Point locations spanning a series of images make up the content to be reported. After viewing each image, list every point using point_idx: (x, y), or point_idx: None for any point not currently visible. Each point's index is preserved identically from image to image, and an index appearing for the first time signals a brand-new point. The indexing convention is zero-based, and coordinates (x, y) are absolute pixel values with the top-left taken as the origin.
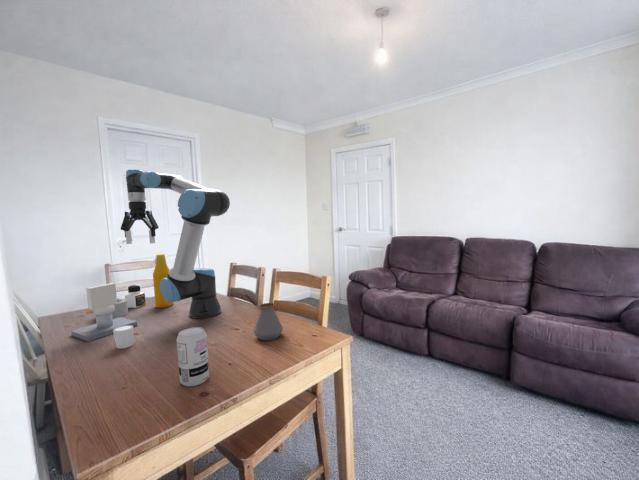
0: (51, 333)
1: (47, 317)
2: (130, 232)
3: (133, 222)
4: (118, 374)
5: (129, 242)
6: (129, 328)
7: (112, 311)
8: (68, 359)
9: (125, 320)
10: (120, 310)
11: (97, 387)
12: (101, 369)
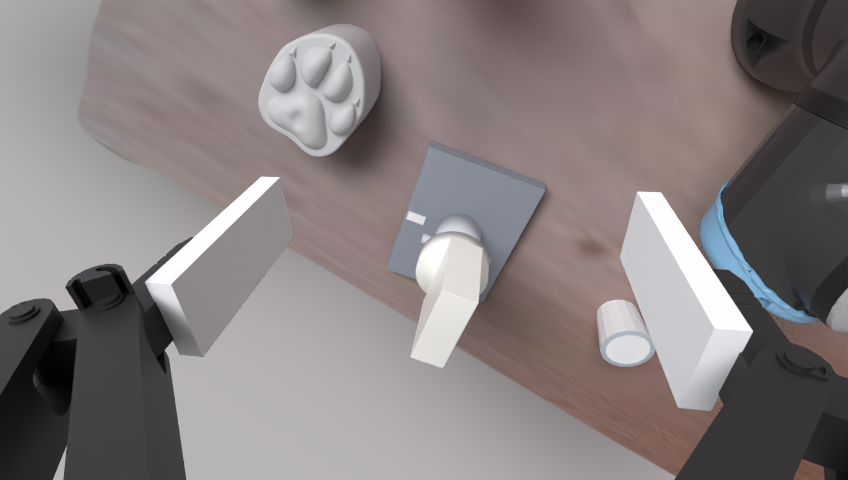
0: (310, 250)
1: (95, 121)
2: (194, 278)
3: (156, 474)
4: (696, 413)
5: (281, 224)
6: (651, 352)
7: (488, 260)
8: (529, 367)
9: (488, 182)
10: (374, 93)
11: (683, 439)
12: (644, 398)
